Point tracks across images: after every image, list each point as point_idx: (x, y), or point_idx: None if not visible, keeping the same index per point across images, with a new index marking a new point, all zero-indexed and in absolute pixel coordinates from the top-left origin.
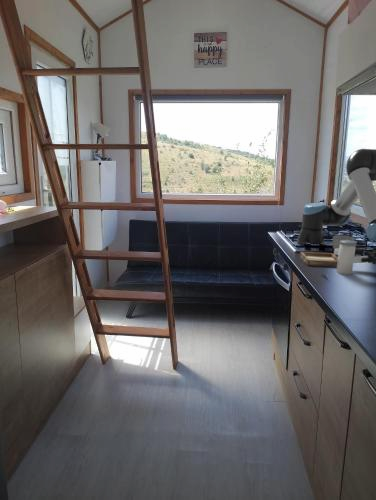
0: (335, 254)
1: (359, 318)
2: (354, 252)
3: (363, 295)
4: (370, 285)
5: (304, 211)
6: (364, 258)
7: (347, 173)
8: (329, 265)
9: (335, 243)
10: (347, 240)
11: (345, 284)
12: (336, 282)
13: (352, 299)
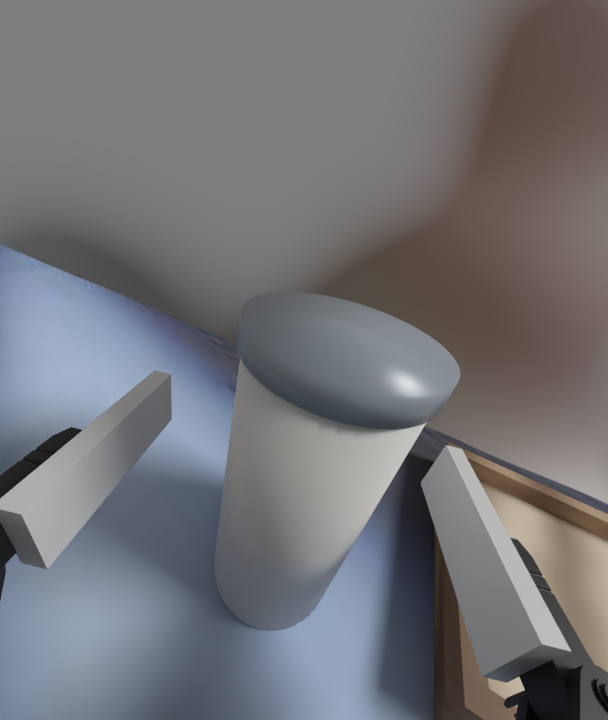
0: (425, 489)
1: (8, 271)
2: (235, 441)
3: (16, 350)
4: None
5: None
6: (56, 447)
7: None
8: (437, 572)
9: None
10: (434, 368)
11: None
12: (182, 386)
13: (55, 318)
